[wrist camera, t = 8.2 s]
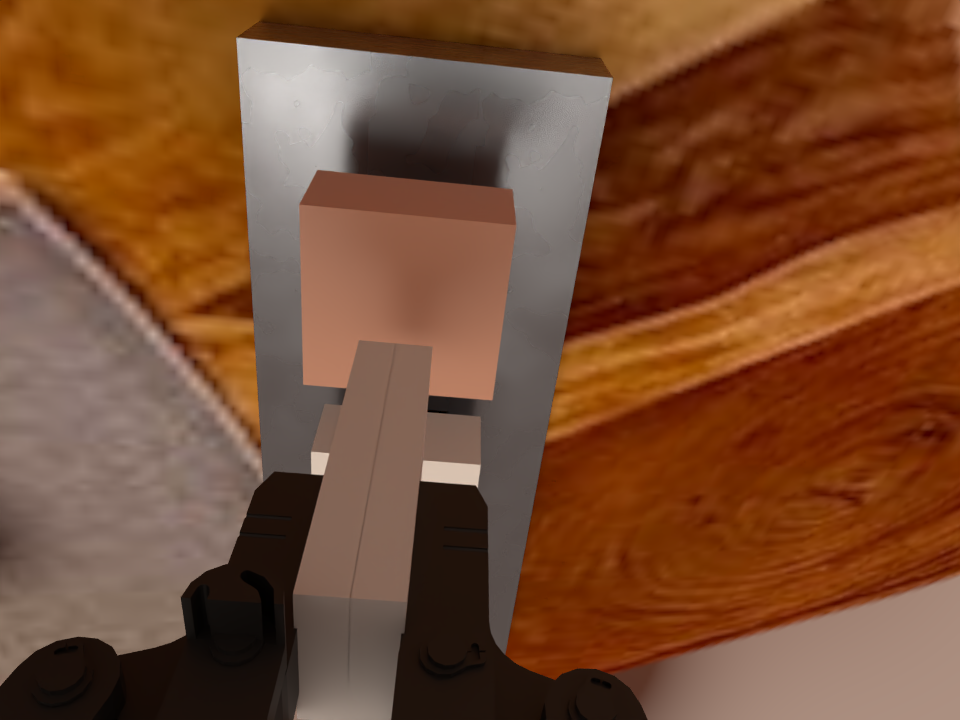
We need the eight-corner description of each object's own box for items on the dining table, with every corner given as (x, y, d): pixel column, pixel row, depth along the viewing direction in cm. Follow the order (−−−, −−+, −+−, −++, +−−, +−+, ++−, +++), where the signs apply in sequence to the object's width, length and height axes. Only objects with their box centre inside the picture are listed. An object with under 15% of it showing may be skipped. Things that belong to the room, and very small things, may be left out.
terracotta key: (333, 139, 22) (299, 204, 18) (509, 157, 22) (516, 225, 18) (333, 295, 25) (303, 384, 20) (489, 310, 25) (492, 400, 21)
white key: (337, 360, 27) (311, 451, 23) (480, 372, 27) (480, 465, 23) (336, 470, 30) (313, 570, 25) (467, 480, 30) (465, 581, 26)
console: (259, 21, 22) (236, 37, 20) (600, 58, 23) (613, 77, 21) (286, 618, 36) (274, 664, 34) (499, 632, 37) (500, 679, 35)
